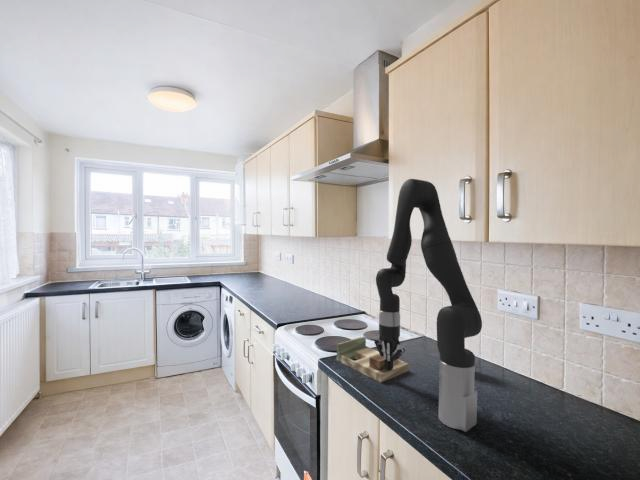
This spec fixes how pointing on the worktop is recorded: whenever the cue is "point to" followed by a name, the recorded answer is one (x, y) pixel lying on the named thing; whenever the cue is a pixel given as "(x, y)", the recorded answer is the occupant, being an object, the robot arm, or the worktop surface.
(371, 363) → the walnut block
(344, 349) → the tray
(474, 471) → the worktop surface
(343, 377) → the worktop surface
